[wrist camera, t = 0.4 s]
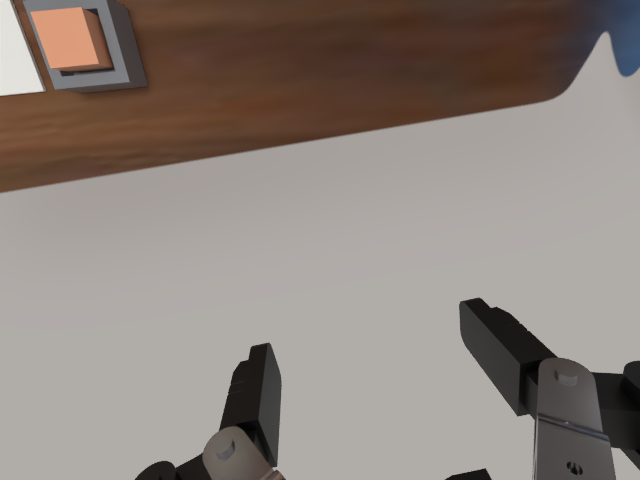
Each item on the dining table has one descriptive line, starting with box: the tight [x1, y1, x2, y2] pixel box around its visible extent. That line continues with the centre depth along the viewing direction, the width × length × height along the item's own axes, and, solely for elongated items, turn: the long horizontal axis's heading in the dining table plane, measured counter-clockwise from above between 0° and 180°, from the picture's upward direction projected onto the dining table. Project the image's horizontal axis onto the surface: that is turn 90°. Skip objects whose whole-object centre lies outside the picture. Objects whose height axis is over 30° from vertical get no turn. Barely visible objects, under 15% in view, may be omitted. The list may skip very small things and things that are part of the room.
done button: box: [30, 7, 114, 73], centre depth 28 cm, size 4×4×2 cm
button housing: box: [23, 0, 148, 93], centre depth 30 cm, size 7×7×4 cm
